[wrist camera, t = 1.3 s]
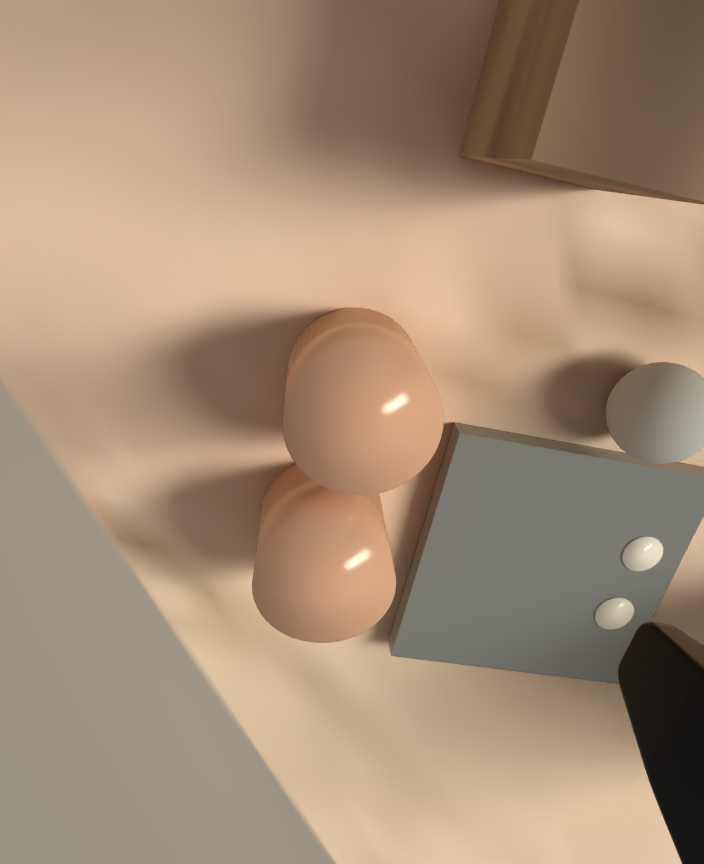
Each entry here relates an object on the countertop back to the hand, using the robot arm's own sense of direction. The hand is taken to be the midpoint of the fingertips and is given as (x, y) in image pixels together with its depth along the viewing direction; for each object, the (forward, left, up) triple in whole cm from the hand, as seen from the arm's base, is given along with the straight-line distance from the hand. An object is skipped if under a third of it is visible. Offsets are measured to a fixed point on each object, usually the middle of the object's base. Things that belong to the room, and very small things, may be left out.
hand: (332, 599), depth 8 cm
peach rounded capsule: (-1, 0, -11) cm, 11 cm away
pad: (-9, +6, -11) cm, 16 cm away
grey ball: (-10, -1, -11) cm, 15 cm away
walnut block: (-5, -8, -11) cm, 15 cm away
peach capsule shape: (-1, +5, -11) cm, 13 cm away
